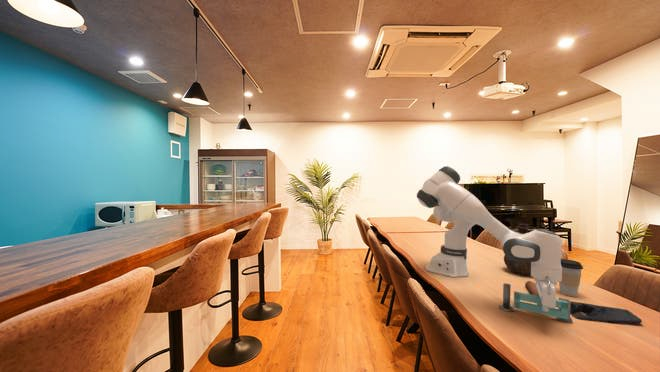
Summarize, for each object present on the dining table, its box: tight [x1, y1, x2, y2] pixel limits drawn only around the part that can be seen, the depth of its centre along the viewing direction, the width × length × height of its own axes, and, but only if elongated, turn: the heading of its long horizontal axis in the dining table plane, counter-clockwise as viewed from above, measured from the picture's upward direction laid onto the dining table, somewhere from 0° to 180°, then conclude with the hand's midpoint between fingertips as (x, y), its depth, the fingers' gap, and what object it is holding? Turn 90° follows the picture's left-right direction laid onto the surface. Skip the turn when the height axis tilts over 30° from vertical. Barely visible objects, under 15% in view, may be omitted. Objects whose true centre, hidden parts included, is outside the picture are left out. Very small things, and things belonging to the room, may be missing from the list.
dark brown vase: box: [503, 222, 531, 276], centre depth 147 cm, size 18×18×28 cm
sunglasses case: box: [524, 280, 539, 296], centre depth 119 cm, size 18×7×7 cm, turn 155°
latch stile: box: [555, 297, 574, 324], centre depth 98 cm, size 4×4×8 cm
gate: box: [513, 291, 568, 319], centre depth 100 cm, size 16×2×6 cm, turn 58°
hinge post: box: [498, 282, 515, 313], centre depth 105 cm, size 5×5×10 cm
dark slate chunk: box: [570, 300, 643, 325], centre depth 102 cm, size 15×22×5 cm
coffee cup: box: [558, 258, 584, 297], centre depth 120 cm, size 9×9×15 cm
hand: (544, 310), depth 97 cm, fingers closed
